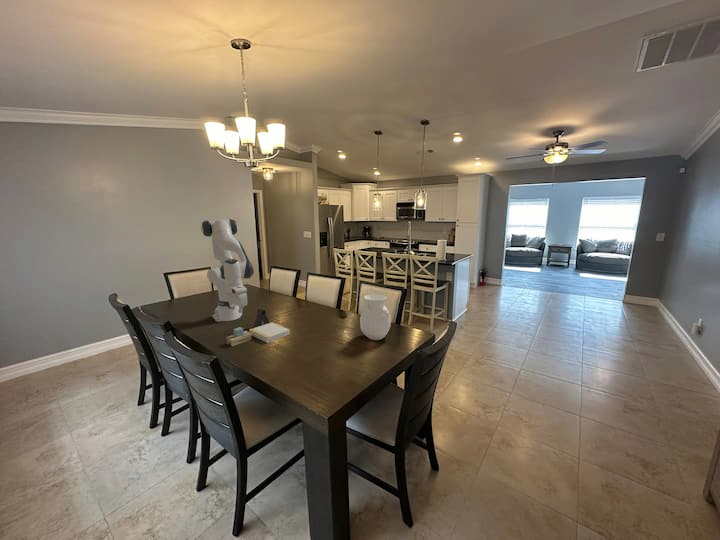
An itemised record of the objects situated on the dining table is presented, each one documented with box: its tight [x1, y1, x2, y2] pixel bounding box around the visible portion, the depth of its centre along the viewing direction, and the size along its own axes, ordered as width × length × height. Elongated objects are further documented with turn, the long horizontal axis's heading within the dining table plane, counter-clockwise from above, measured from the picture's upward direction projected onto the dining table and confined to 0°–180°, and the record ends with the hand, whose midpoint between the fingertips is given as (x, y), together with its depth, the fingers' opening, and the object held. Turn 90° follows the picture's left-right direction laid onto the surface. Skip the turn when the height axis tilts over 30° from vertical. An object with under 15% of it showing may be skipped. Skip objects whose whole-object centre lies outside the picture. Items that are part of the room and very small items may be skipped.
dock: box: [248, 322, 291, 344], centre depth 177 cm, size 20×16×3 cm
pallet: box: [226, 330, 253, 347], centre depth 168 cm, size 6×12×4 cm, turn 140°
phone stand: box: [253, 308, 271, 328], centre depth 189 cm, size 9×6×12 cm, turn 136°
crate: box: [233, 326, 245, 337], centre depth 167 cm, size 4×4×4 cm
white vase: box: [359, 293, 392, 341], centre depth 169 cm, size 19×18×25 cm
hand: (236, 311), depth 165 cm, fingers open, 8 cm apart
